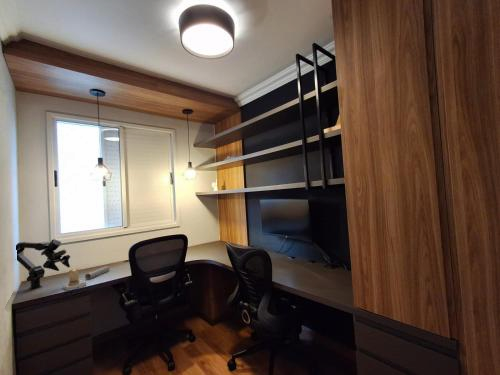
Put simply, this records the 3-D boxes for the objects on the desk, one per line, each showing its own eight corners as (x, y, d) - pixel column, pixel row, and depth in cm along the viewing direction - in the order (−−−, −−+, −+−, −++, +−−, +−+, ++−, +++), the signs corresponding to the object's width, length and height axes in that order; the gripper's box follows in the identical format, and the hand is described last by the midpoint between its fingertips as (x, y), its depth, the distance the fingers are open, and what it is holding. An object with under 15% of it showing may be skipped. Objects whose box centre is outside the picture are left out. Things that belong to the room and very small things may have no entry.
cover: (67, 286, 181) (66, 270, 181) (77, 283, 186) (77, 268, 187) (70, 288, 177) (69, 271, 177) (80, 285, 182) (80, 269, 183)
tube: (104, 266, 223) (84, 274, 198) (109, 264, 223) (89, 272, 198) (106, 272, 223) (86, 280, 198) (111, 270, 223) (91, 278, 198)
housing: (61, 287, 180) (61, 284, 180) (80, 282, 190) (80, 279, 190) (67, 290, 173) (67, 287, 173) (86, 285, 182) (86, 282, 183)
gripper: (46, 249, 175) (59, 264, 173) (68, 244, 194) (80, 258, 192) (36, 260, 176) (50, 275, 174) (59, 254, 194) (72, 268, 192)
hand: (64, 268), depth 183 cm, fingers open, 9 cm apart
